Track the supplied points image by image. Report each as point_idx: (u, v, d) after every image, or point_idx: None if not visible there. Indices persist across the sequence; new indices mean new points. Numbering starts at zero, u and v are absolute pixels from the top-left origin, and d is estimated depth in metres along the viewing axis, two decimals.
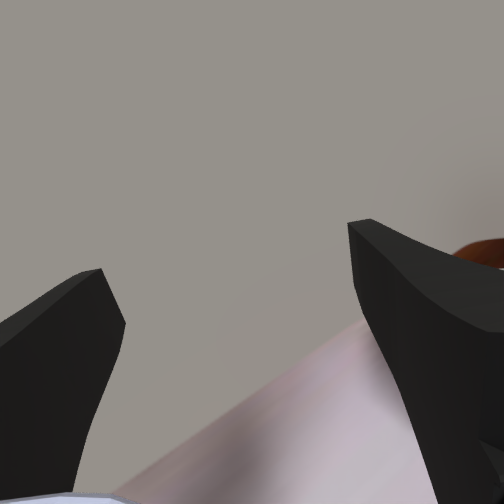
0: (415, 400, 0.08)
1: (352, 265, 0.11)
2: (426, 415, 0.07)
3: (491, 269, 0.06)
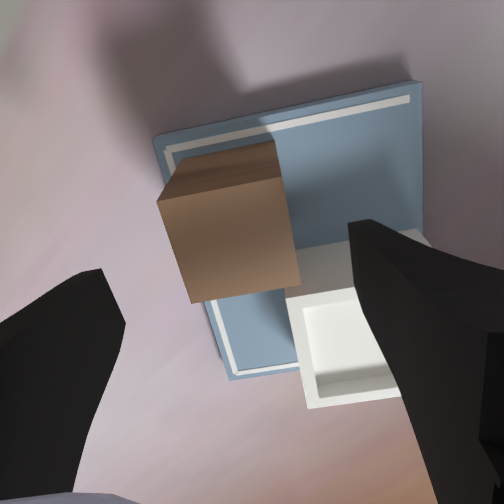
0: (415, 400, 0.08)
1: (352, 265, 0.11)
2: (426, 415, 0.07)
3: (491, 269, 0.06)
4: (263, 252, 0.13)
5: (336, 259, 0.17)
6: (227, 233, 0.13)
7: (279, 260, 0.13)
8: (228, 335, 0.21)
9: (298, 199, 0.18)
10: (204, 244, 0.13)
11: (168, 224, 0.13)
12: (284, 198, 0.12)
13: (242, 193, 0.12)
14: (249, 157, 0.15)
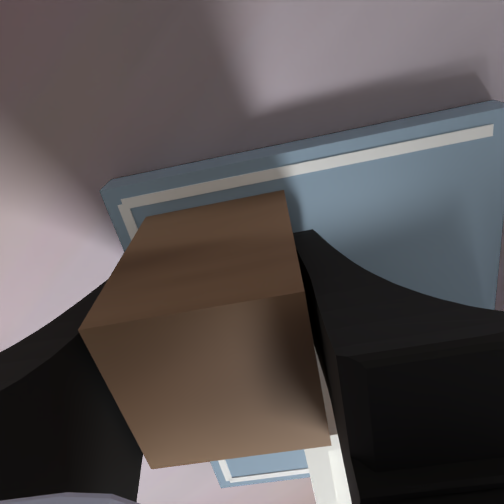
0: (334, 411, 0.08)
1: None
2: (338, 427, 0.07)
3: (393, 285, 0.06)
4: (268, 403, 0.08)
5: None
6: (206, 376, 0.07)
7: (296, 413, 0.08)
8: None
9: None
10: (167, 391, 0.08)
11: (102, 364, 0.07)
12: (307, 325, 0.07)
13: (232, 317, 0.07)
14: (245, 227, 0.09)
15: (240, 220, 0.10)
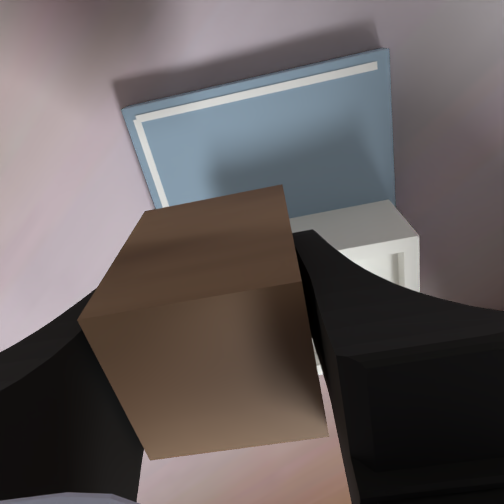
0: (334, 411, 0.08)
1: None
2: (338, 427, 0.07)
3: (393, 286, 0.06)
4: (266, 393, 0.08)
5: (307, 229, 0.17)
6: (204, 366, 0.08)
7: (294, 403, 0.08)
8: None
9: (269, 169, 0.18)
10: (166, 382, 0.08)
11: (102, 354, 0.07)
12: (305, 315, 0.07)
13: (230, 307, 0.07)
14: (244, 220, 0.09)
15: (238, 213, 0.10)
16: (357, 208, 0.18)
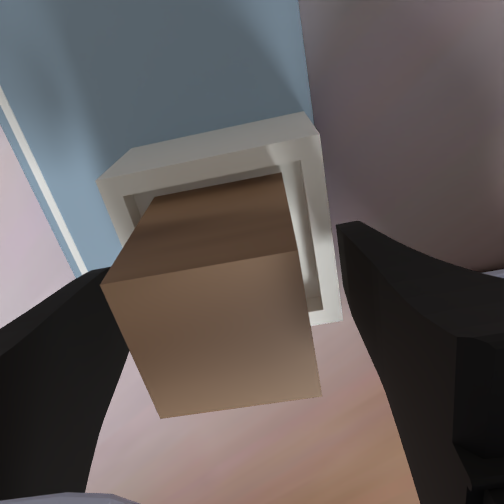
0: (399, 402, 0.08)
1: (341, 267, 0.11)
2: (408, 417, 0.07)
3: (471, 272, 0.06)
4: (265, 355, 0.09)
5: (189, 144, 0.13)
6: (211, 329, 0.08)
7: (290, 364, 0.09)
8: (87, 267, 0.17)
9: (141, 66, 0.13)
10: (176, 343, 0.09)
11: (120, 317, 0.08)
12: (301, 282, 0.08)
13: (235, 274, 0.08)
14: (246, 203, 0.10)
15: (241, 197, 0.11)
16: (261, 122, 0.14)
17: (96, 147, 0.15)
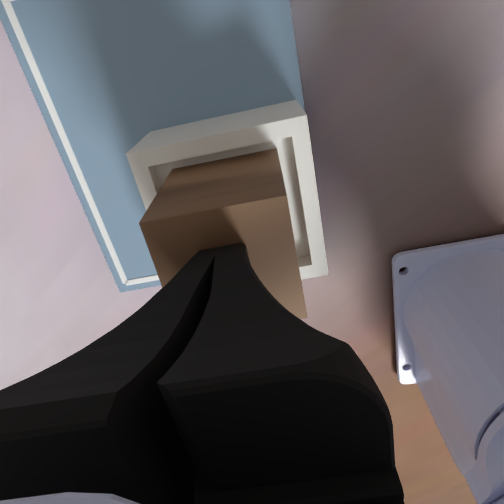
0: None
1: None
2: None
3: (274, 305, 0.07)
4: (263, 281, 0.11)
5: (200, 126, 0.16)
6: None
7: (282, 290, 0.12)
8: (110, 236, 0.20)
9: (160, 61, 0.16)
10: None
11: (153, 249, 0.11)
12: (289, 220, 0.11)
13: (240, 214, 0.10)
14: (248, 169, 0.13)
15: (244, 166, 0.13)
16: (260, 108, 0.16)
17: (121, 130, 0.17)
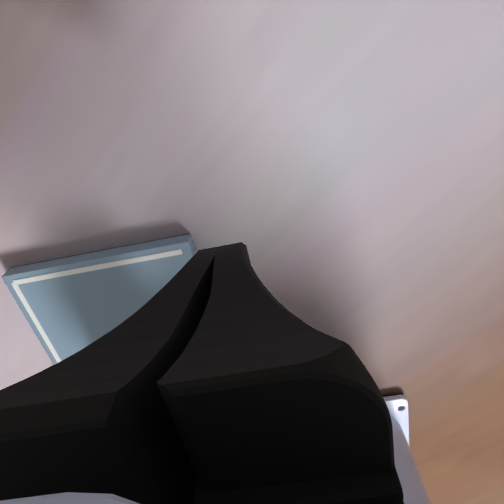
0: None
1: None
2: None
3: (274, 305, 0.07)
4: None
5: None
6: None
7: None
8: None
9: (118, 313, 0.24)
10: None
11: None
12: None
13: None
14: None
15: None
16: None
17: None
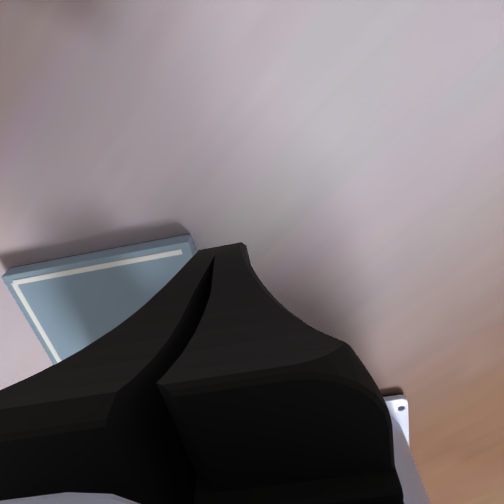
0: None
1: None
2: None
3: (274, 305, 0.07)
4: None
5: None
6: None
7: None
8: None
9: (118, 313, 0.24)
10: None
11: None
12: None
13: None
14: None
15: None
16: None
17: None
